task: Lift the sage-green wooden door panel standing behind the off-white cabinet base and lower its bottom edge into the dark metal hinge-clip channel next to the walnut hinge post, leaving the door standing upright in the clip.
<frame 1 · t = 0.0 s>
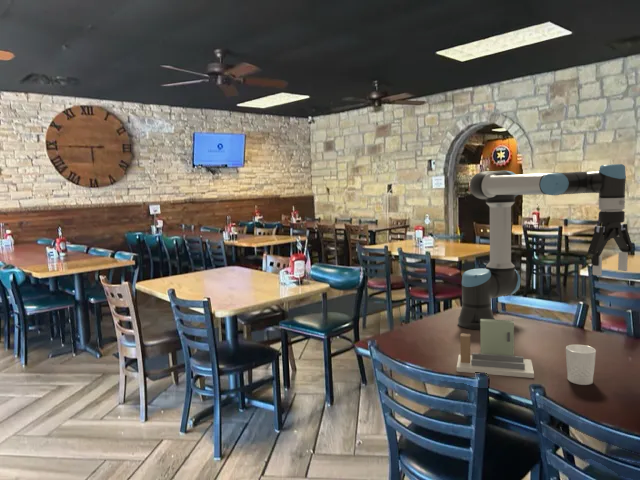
hand: (610, 272, 166), 28 cm above the table, tool pointing down, fingers open, 13 cm apart
door panel: (496, 353, 172), on the table
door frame: (497, 368, 159), on the table
white cup: (580, 381, 146), on the table
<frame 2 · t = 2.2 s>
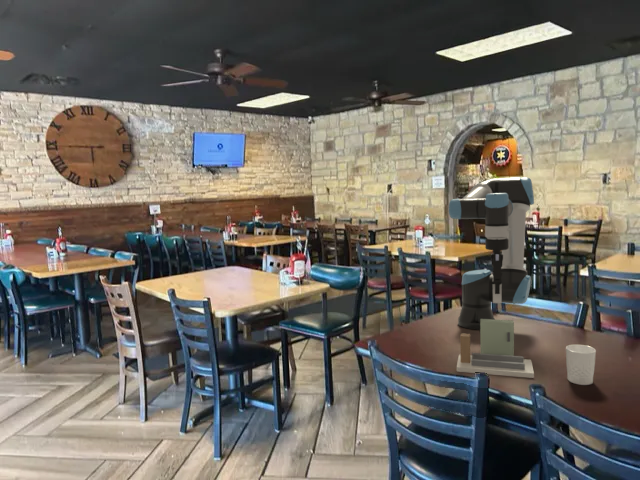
hand: (496, 298, 170), 20 cm above the table, tool pointing down, fingers open, 13 cm apart
nothing on the table moved.
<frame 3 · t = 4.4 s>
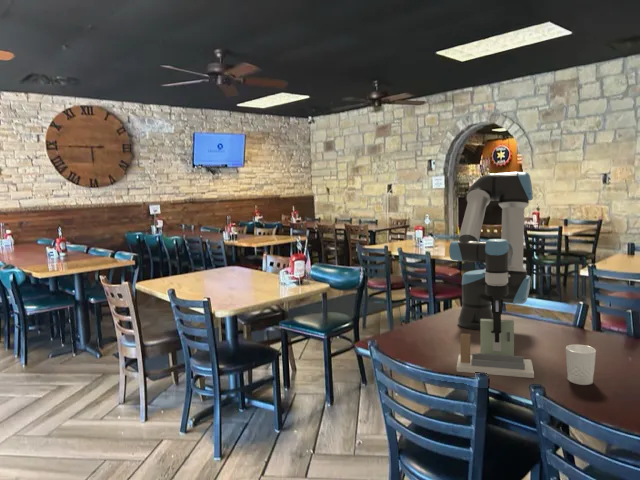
hand: (496, 348, 172), 2 cm above the table, tool pointing down, fingers closed on door panel, 3 cm apart
door panel: (496, 353, 172), on the table, touching gripper
everything else where it was.
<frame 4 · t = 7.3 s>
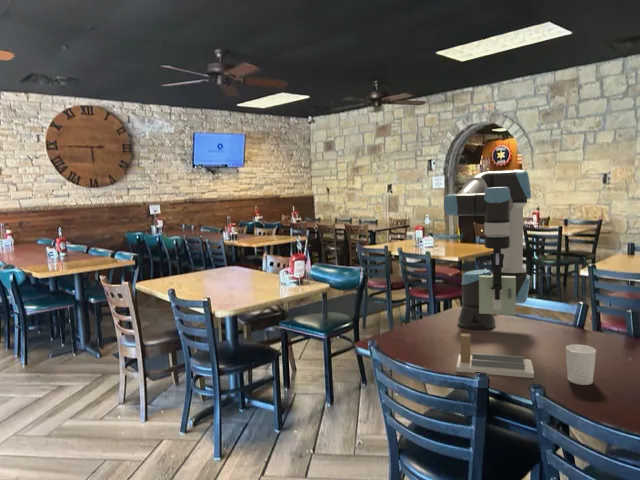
hand: (497, 307, 157), 20 cm above the table, tool pointing down, fingers closed on door panel, 3 cm apart
door panel: (497, 313, 157), point 18 cm above the table, touching gripper
everything else where it was.
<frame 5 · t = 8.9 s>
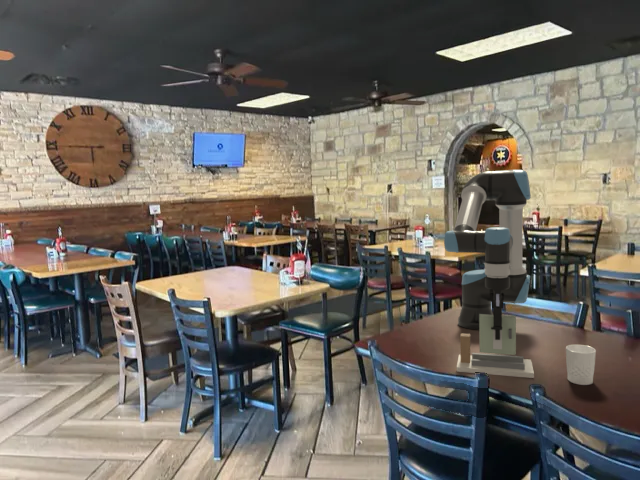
hand: (497, 346, 158), 7 cm above the table, tool pointing down, fingers closed on door panel, 3 cm apart
door panel: (497, 352, 158), point 5 cm above the table, touching gripper
everything else where it was.
when the fingers open (4 cm above the table, at t = 10.0 s): door panel stays where it is, resting on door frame.
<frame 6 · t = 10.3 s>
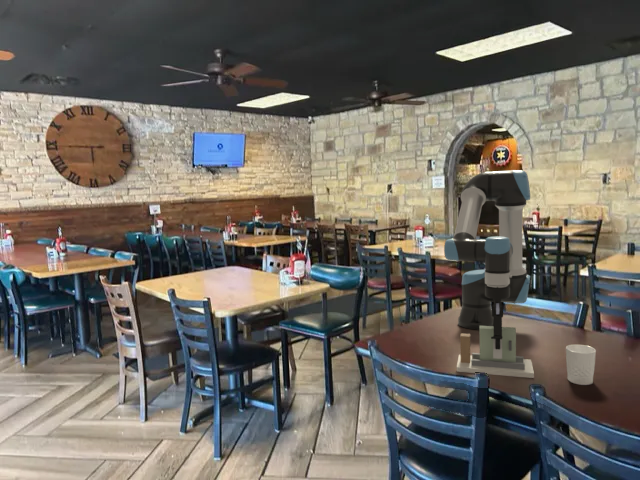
hand: (497, 354, 158), 5 cm above the table, tool pointing down, fingers open, 7 cm apart
door panel: (497, 363, 159), point 2 cm above the table, touching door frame
everything else where it was.
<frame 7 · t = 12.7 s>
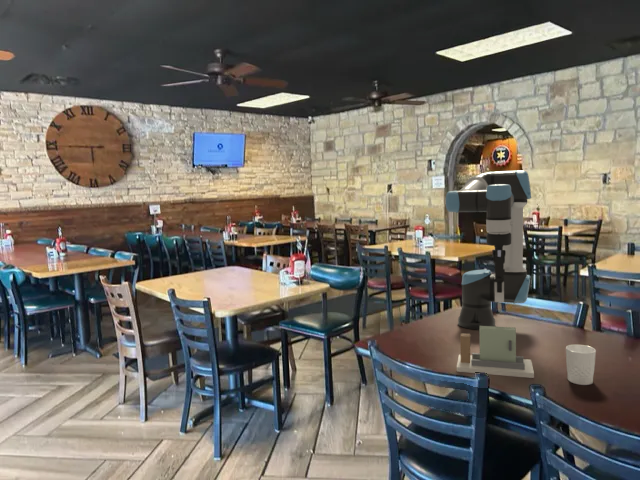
hand: (499, 296, 159), 23 cm above the table, tool pointing down, fingers open, 13 cm apart
nothing on the table moved.
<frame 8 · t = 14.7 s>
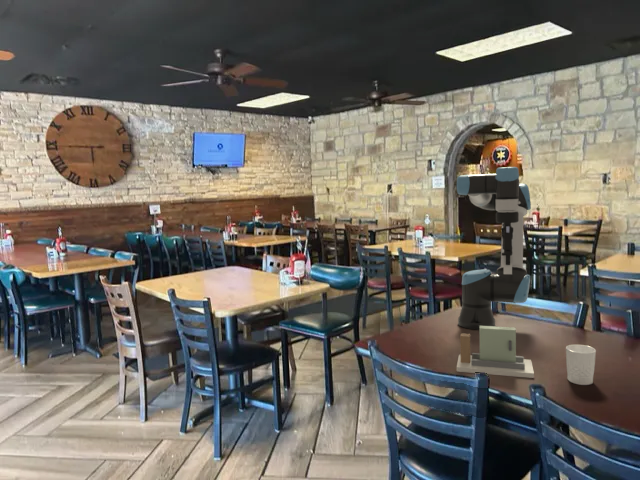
hand: (507, 270, 174), 29 cm above the table, tool pointing down, fingers open, 13 cm apart
nothing on the table moved.
at the end: door panel 0.0 cm off-centre on the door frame, point 1.5 cm above the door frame's base; door panel tilted 0°; the gripper is holding nothing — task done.
